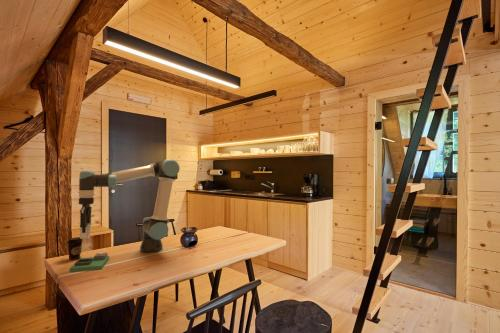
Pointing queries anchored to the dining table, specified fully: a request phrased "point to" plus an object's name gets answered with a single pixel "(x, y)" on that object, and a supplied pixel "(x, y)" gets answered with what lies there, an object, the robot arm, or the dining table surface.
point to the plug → (87, 231)
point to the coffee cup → (74, 248)
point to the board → (90, 263)
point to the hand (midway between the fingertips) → (85, 237)
